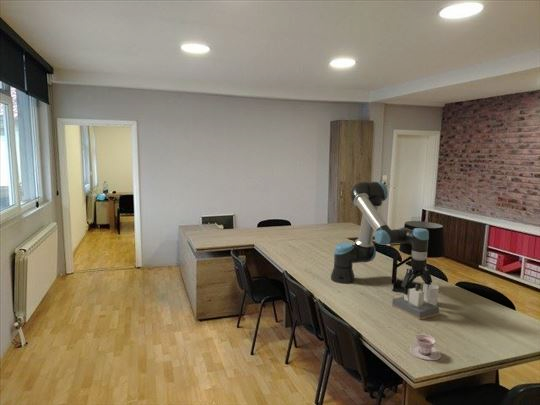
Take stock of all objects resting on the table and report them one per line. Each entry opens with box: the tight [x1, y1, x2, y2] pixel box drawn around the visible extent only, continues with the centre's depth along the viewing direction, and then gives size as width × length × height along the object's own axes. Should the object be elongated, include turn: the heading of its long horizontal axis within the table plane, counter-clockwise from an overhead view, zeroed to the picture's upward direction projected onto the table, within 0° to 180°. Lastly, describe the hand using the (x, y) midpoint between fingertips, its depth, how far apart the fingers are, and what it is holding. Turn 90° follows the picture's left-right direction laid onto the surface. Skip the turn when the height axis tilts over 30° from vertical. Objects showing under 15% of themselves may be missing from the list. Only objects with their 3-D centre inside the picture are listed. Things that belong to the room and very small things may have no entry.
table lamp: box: [391, 220, 446, 294], centre depth 222 cm, size 26×28×40 cm
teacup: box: [409, 333, 442, 362], centre depth 152 cm, size 12×12×6 cm
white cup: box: [424, 283, 440, 306], centre depth 203 cm, size 8×8×10 cm
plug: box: [409, 284, 424, 307], centre depth 193 cm, size 6×4×13 cm, turn 27°
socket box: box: [392, 296, 440, 321], centre depth 194 cm, size 18×14×4 cm
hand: (415, 298), depth 193 cm, fingers open, 13 cm apart
